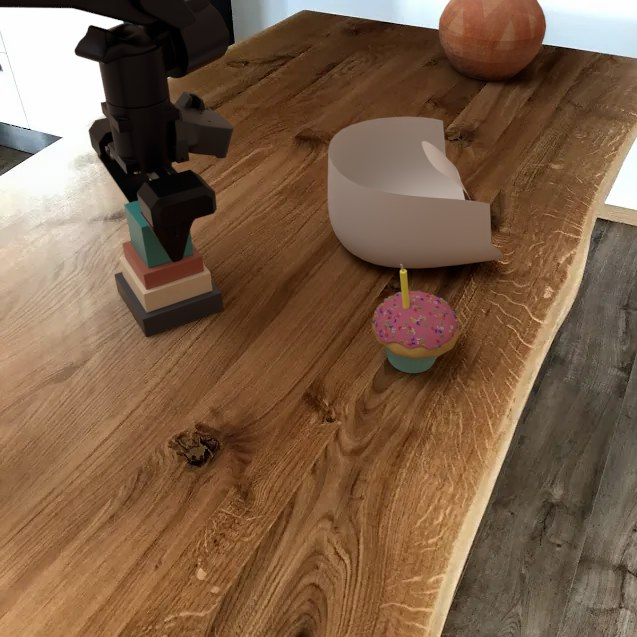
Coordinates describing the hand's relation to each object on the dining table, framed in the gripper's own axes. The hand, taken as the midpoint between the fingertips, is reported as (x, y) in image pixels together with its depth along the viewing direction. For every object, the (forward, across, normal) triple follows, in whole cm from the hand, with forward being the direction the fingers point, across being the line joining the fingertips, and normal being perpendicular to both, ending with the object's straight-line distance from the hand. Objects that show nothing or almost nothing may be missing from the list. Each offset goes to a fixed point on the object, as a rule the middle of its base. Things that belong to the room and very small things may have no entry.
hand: (160, 238), depth 76 cm
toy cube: (+1, 0, 0) cm, 1 cm away
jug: (+9, +34, -75) cm, 83 cm away
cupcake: (+9, -21, -18) cm, 29 cm away
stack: (+8, 0, 0) cm, 8 cm away
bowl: (+9, -3, -30) cm, 31 cm away
